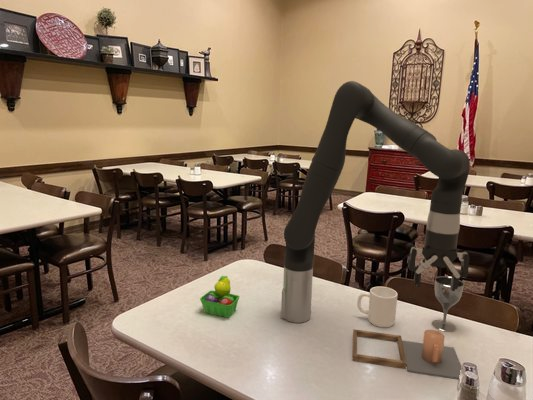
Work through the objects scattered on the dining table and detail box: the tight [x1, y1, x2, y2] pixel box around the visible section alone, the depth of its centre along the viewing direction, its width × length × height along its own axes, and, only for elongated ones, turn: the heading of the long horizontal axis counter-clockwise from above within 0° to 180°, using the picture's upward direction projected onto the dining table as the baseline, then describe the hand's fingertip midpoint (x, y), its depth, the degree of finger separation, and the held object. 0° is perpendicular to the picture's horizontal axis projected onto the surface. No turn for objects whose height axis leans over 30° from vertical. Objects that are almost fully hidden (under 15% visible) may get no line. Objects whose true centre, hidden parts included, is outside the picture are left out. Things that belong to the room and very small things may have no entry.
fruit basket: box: [199, 275, 240, 318], centre depth 128 cm, size 11×9×11 cm
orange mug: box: [422, 329, 446, 364], centre depth 103 cm, size 7×5×7 cm
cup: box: [356, 286, 399, 328], centre depth 124 cm, size 8×12×10 cm
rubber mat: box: [402, 339, 463, 380], centre depth 105 cm, size 14×14×1 cm
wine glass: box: [431, 275, 465, 333], centre depth 121 cm, size 8×8×15 cm
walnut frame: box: [352, 328, 407, 370], centre depth 109 cm, size 14×14×2 cm
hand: (434, 287), depth 102 cm, fingers open, 8 cm apart
